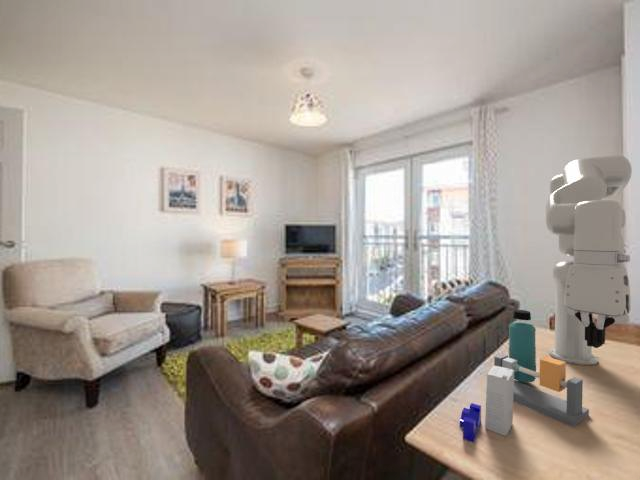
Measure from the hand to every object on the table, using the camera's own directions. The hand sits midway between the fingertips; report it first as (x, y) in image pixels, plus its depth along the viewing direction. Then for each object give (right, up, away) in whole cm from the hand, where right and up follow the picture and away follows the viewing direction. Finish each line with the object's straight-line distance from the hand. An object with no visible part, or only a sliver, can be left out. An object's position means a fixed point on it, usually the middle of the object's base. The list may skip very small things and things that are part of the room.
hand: (594, 345), depth 69 cm
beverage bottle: (-3, -17, +21) cm, 27 cm away
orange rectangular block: (-4, -12, +7) cm, 15 cm away
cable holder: (-27, -18, 0) cm, 32 cm away
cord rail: (-6, -17, +11) cm, 21 cm away
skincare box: (-20, -18, +1) cm, 27 cm away
